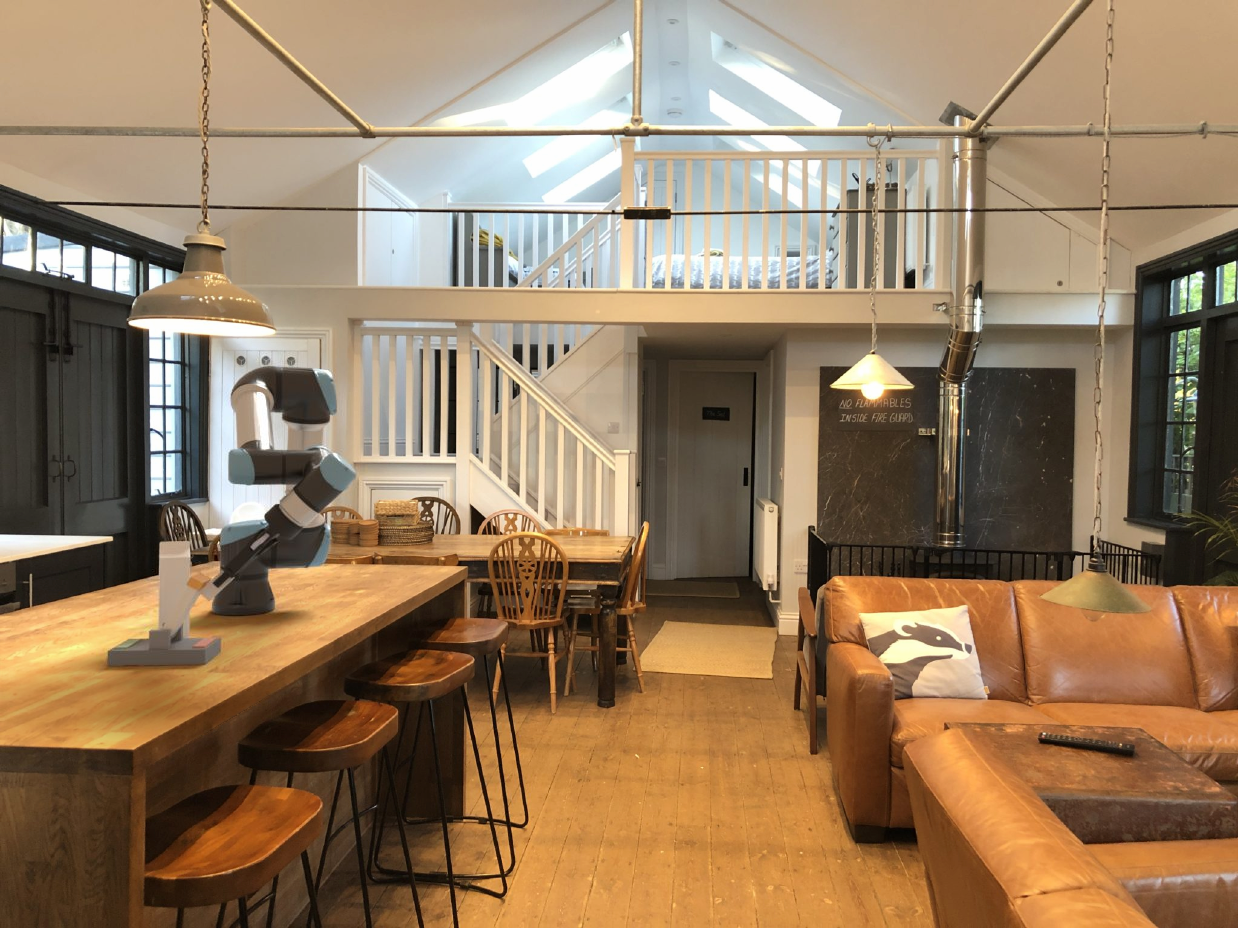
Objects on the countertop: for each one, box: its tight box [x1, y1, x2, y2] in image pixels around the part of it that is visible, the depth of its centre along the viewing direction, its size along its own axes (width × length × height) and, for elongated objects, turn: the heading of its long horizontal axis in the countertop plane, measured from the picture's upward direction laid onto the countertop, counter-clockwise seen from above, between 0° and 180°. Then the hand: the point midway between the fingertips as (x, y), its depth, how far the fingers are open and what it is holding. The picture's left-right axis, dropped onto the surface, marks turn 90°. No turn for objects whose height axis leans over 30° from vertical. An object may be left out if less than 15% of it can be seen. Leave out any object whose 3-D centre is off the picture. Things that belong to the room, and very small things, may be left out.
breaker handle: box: [161, 572, 213, 639], centre depth 171 cm, size 3×6×15 cm, turn 9°
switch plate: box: [107, 622, 222, 667], centre depth 170 cm, size 18×10×7 cm, turn 99°
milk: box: [157, 540, 191, 638], centre depth 185 cm, size 6×6×22 cm
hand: (205, 595), depth 171 cm, fingers closed
